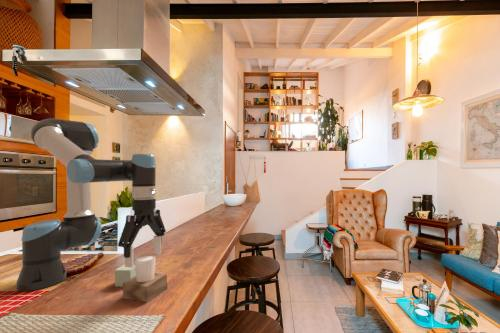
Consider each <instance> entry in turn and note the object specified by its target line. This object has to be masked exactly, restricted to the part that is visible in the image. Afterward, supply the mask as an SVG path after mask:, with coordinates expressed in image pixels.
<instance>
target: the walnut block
mask: <svg viewBox="0 0 500 333" xmlns="http://www.w3.org/2000/svg"><path fill="white" fill-rule="evenodd" d="M166 290H168V274H163V273H157V272H156V273H155V272H154V278H153V279H152V280H150V281H147V282H138V281H137V279H136V276H135V277H133V278H131V279H129V280H127V281H126V282H124V283H123V287H122V298H123V299H126V300H132V301H138V302H144V303H149V302H150V301H152V300H153V299H154V298H156V297H158V296H159V295H161V294H162V293H163V292H165V291H166Z"/></svg>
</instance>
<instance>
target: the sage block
mask: <svg viewBox="0 0 500 333" xmlns="http://www.w3.org/2000/svg"><path fill="white" fill-rule="evenodd" d="M135 276H136V270H135V263H133V267H132V268H130V267H125V263H124V264H122V265H121V266H120V267H118V268H116V269H115V270H114V286H115V287H121V286H123V283H124V282H126V281H127V280H129V279H131V278H133V277H135Z"/></svg>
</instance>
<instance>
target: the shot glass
mask: <svg viewBox="0 0 500 333" xmlns="http://www.w3.org/2000/svg"><path fill="white" fill-rule="evenodd" d="M133 263H134V265H135V270H136V279H137V281H138V282H147V281H150V280H152V279H153V278H154V273H155V270H156V256H155V255H142V256H138V257H136V258H134V259H133Z"/></svg>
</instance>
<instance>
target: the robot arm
mask: <svg viewBox="0 0 500 333" xmlns="http://www.w3.org/2000/svg"><path fill="white" fill-rule="evenodd" d="M30 138H31V140H32V142H33V143H34V144H35V145H36V146H37V147H38V148H39V149H42V150H45V151H47V152H48V153H49V154H51V155H52V156H53V157H54V158H56V160H58V161H59V162H60V163H61V164H62V165H63V166H65V168H66V170H65V172H66V177H65V178H66V207H67V208H66V210H67V211H66V213H65V214H64V215H63V216H62V219H63V221H61V220H60V219H59V218H58V219H57V218H52V219H45V220H40V221H37V222H34V223H30V224H28V225H26V226H24V227H23V229H22V233H21V234H22V235H21V236H22V237H21V242H22V244H21V245H22V246H21V248H22V249H21V250H22V252H21V253H22V255H21V256H22V258H21V259H22V265H21V266H22V267H21V269H20V272H19V274H18V277H17V279H16V290H18V291H22V292H26V291H35V290H42V289H46V288H49V287H52V286H53V287H54V286H55V285H58V284H59V283H62V282H63V281H65V279H66V278H67V270H66V269H65V268H66V267H65V266H64V263H63V261H62V257H61V256H62V255H61V252H62V251H66V250H70V249H74V248H78V247H83V246H88V245H91V244H94V243H95V242H96V241H97V240H98V239H99V237H100V236H101V233H102V221H101V220H100V217H98V216H96V213H95V212H94V211H93V210H92V209H91V208H92V204H91V201H92V200H91V183H105V182H106V183H107V182H125V181H126V182H131V184H132V185H131V197H132V201H131V204H132V206H131V207H132V208H131V210H132V211H133V212H134V213H133V214H132V215H130V214H128V215H126V216H125V223H124V227H123V228H122V232H121V234H120V238H119V241H118V244H117V246H118V247H120V248H123V257H124V264H125V267H130V268H132V267H133V264H134V246H133V243H134V242H135V239H136V238H137V235H138V234H139V232H140V230H141V229H142V228H143V227H146V226H149V228H150V229H151V231H152V232H153V233H154V236H153V254H154V255H161V254H162V237H164V236H165V233H166V232H167V231H166V228H165V224H164V222H163V218H162V216H161V210H160V209H156V206H157V203H156V198H155V197H156V173H157V172H156V167H157V166H156V156H155V155H154V154H152V153H134V154H132V155H131V159H130V160H129V159H127V160H126V159H96V158H94V157H93V156H91V155H92V154H93V153H94V150H95V149H96V148H97V147H98V145H99V140H100V139H99V133H98V130H97V129H96V127H95V126H94V125H93V124H91V123H89V122H83V121H76V120H67V119H60V118H46V119H41V120H39V121H38V122H36V123H35V124H34V125H33V126H32V127H31V130H30Z"/></svg>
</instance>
